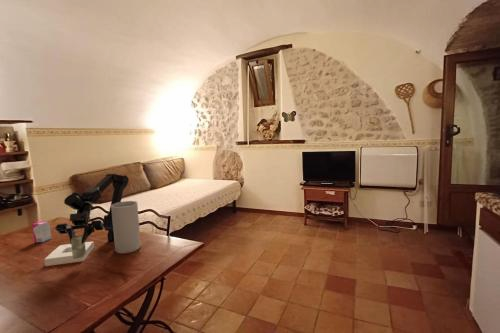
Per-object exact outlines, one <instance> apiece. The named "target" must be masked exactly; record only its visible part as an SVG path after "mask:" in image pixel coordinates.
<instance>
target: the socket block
mask: <svg viewBox="0 0 500 333" xmlns="http://www.w3.org/2000/svg"><path fill="white" fill-rule="evenodd" d="M94 243H95V242H94V241H85V249H86V254H85V256H84V257H83V258H76V259H73V254H72V246H71V243H68V244H60V245H59V246H57V247H56V248H55V249H54V250H53V251H52V252H50V253H49V254H48V255H47V256H46V257H45V258H44V266H45V267H48V266H49V267H50V266H55V265H56V266H57V265H64V264H69V263H79V262H84V261H85V259H86V258H87V257H88V256H89V255H90V253H91V252H92V251H93V249H95V245H94Z"/></svg>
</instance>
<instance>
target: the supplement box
mask: <svg viewBox="0 0 500 333" xmlns="http://www.w3.org/2000/svg"><path fill="white" fill-rule="evenodd" d="M51 232H52V231H51V225H50V221H48V220H40V221H38V222H35V223H32V234H33V240H34V244H36V243H37V244H44V243H46V242H48V241H51V240H52V235H51V234H52V233H51Z"/></svg>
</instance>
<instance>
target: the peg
mask: <svg viewBox="0 0 500 333" xmlns="http://www.w3.org/2000/svg"><path fill="white" fill-rule="evenodd" d="M82 237H83V234H78V235H75V236H74V237H72V238H71V243H70V244H71V246H72V254H73V259H76V258H83V257H84V256H85V254H86V249H85V242H86V241H85V242H84V243H83V244H82Z"/></svg>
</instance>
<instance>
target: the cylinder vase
mask: <svg viewBox="0 0 500 333" xmlns="http://www.w3.org/2000/svg"><path fill="white" fill-rule="evenodd" d="M110 206H111V210H112V221H113V231H114V242H113V243H114V250H115V252H116V253H117V254H123V255H124V254H130V253H134V252H135V251H137V250H139V249H140V248H141V245H142V243H141V232H140V219H139V208H138V207H139V205H138V202H137V201H135V200H128V201H127V200H126V201H125V200H124V201H121V202H119V203H115V204H113V205H111V204H110Z"/></svg>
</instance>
